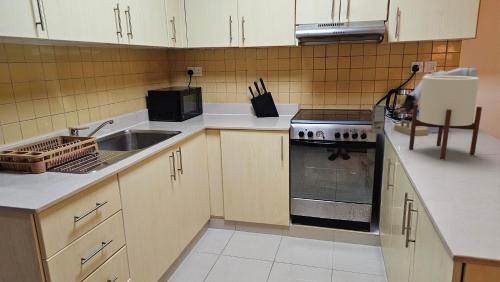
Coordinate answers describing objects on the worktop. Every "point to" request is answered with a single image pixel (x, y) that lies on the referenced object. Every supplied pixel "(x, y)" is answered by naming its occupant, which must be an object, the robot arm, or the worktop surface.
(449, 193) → the worktop surface
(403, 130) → the tan tray
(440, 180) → the worktop surface
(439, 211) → the worktop surface
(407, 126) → the carton lid
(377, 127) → the coffee box
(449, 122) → the plant pot with stand
